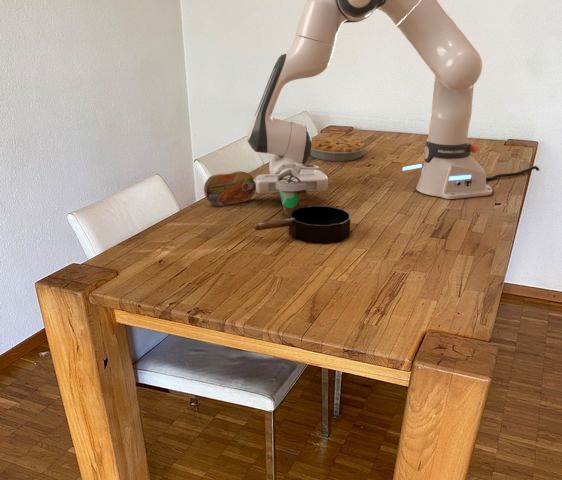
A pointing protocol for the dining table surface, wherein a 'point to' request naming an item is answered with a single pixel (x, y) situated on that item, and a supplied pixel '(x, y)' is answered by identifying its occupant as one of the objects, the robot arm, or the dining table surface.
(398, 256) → the dining table surface
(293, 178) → the food container
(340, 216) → the pan
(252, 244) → the dining table surface
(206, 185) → the tin
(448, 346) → the dining table surface
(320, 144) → the pie
